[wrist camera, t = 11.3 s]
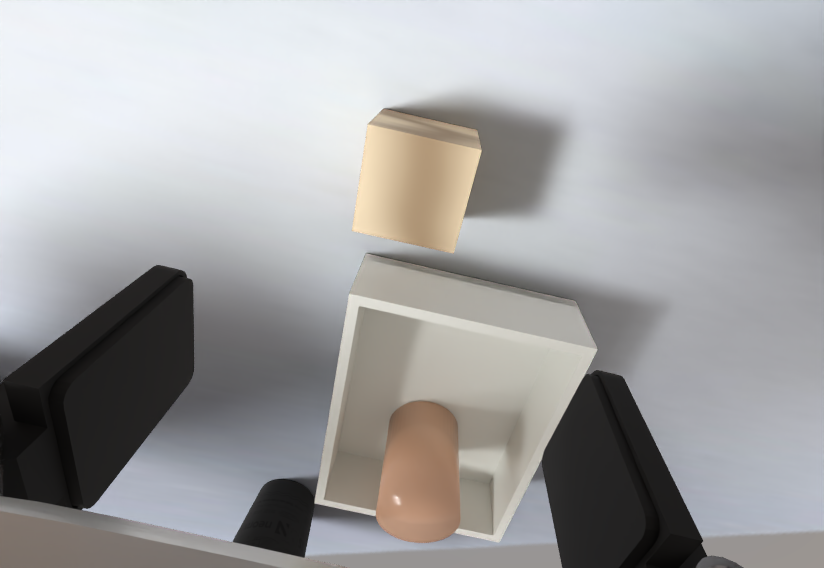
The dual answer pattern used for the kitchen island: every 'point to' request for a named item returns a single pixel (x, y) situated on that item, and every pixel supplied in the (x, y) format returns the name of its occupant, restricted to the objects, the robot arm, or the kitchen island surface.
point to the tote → (451, 382)
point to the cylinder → (420, 474)
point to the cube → (415, 180)
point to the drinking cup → (279, 518)
